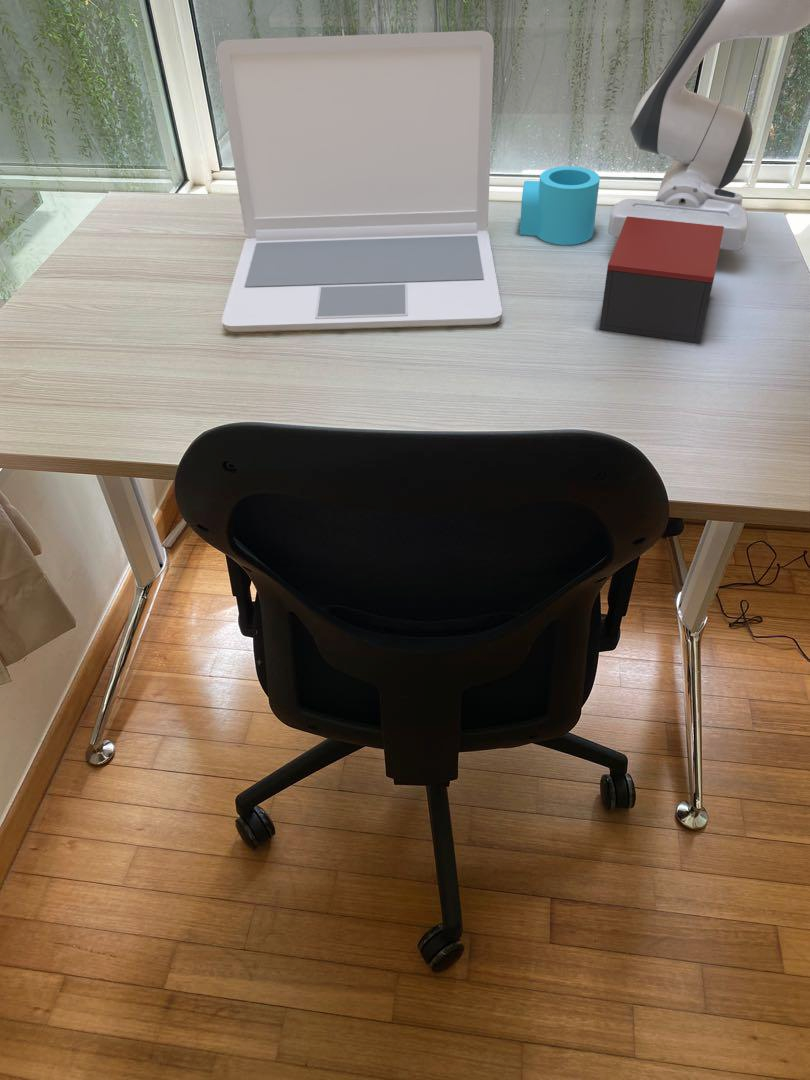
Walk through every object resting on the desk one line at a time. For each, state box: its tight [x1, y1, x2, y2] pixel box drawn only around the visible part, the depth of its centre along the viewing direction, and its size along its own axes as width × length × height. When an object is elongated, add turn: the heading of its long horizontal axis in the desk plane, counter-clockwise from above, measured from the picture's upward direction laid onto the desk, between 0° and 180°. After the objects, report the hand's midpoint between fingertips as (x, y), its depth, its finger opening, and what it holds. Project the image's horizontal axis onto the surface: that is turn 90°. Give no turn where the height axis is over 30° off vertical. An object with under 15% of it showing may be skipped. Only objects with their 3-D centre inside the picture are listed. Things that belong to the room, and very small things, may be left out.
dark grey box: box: [598, 269, 714, 344], centre depth 122 cm, size 14×14×9 cm
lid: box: [606, 216, 724, 284], centre depth 120 cm, size 16×14×1 cm
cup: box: [519, 165, 601, 246], centre depth 143 cm, size 12×9×9 cm
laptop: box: [216, 30, 503, 333], centre depth 124 cm, size 40×31×31 cm
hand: (671, 246), depth 128 cm, fingers closed
